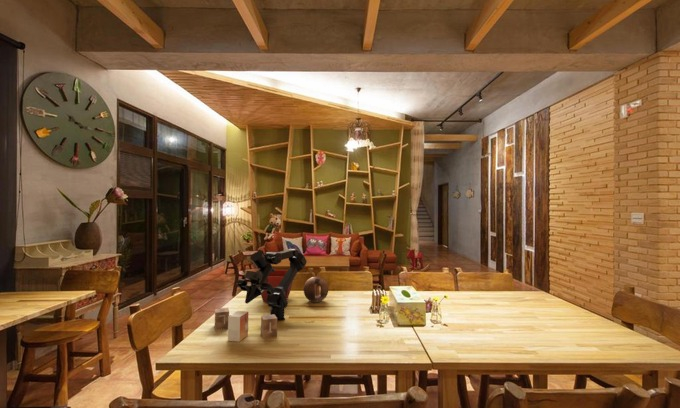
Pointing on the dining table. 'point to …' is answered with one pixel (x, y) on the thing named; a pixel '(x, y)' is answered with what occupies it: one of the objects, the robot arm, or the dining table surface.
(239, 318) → the small box
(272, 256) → the robot arm
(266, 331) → the walnut block one
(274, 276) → the plant pot
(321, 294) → the wooden sphere
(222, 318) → the walnut block seven
